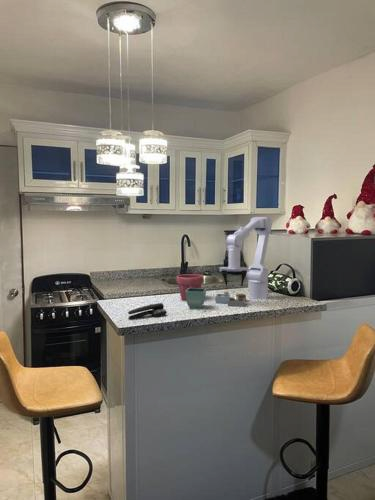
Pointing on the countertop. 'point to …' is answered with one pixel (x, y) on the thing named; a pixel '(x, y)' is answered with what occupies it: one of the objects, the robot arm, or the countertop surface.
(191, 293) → the flower pot
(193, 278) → the plant pot
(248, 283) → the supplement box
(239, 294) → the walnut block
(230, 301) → the tray
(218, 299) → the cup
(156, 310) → the can opener
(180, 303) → the countertop surface
